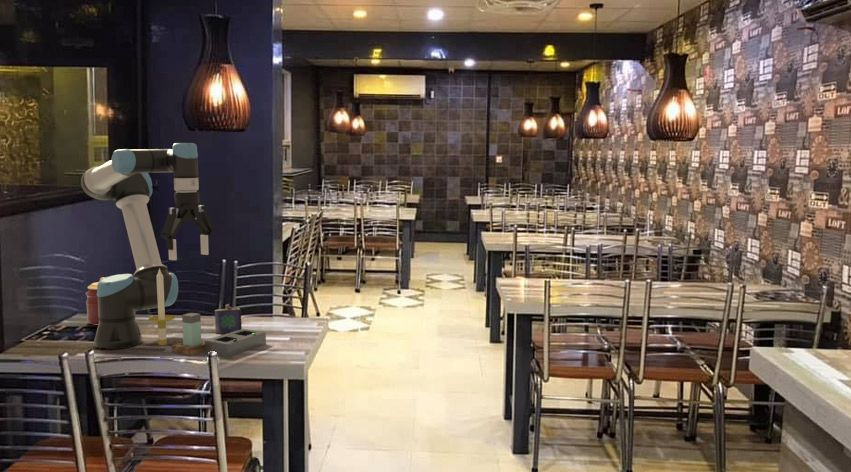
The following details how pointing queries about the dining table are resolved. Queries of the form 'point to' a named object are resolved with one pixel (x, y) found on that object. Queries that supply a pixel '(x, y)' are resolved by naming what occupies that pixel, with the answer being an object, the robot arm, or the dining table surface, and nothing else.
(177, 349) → the square wooden tray
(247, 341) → the port panel
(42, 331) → the dining table surface
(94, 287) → the canister
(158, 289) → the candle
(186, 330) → the green square bottle
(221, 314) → the flask
